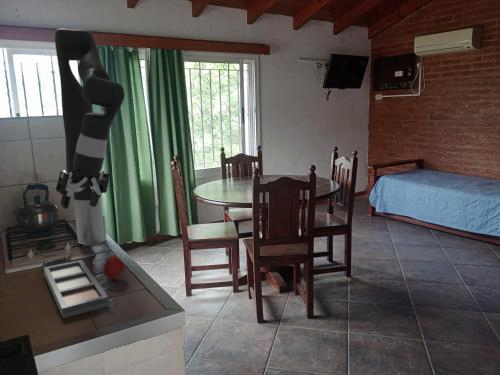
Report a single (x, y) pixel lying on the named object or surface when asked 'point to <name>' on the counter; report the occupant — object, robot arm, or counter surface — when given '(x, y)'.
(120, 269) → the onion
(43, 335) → the counter surface
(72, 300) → the terracotta key
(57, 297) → the keypad
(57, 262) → the phone
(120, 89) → the robot arm
